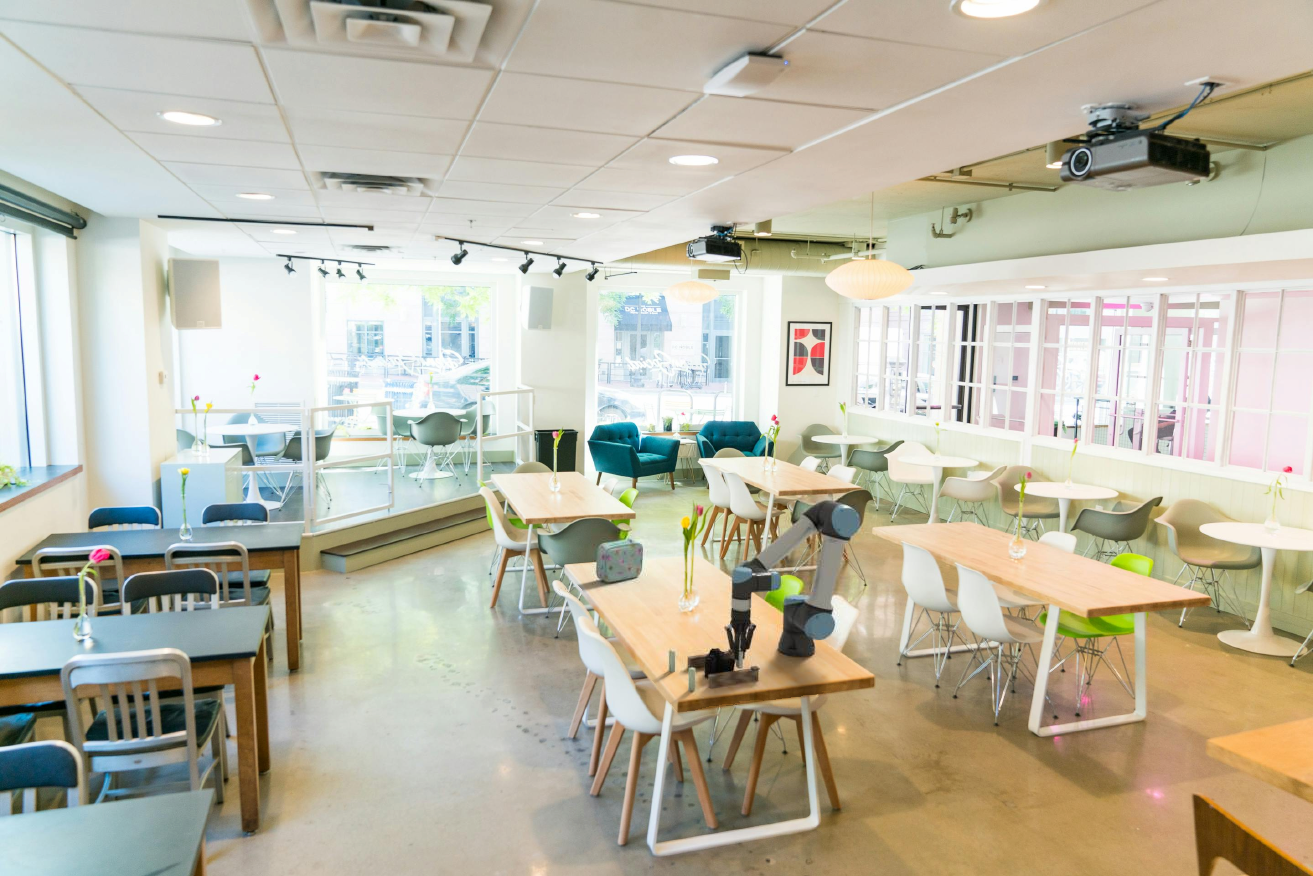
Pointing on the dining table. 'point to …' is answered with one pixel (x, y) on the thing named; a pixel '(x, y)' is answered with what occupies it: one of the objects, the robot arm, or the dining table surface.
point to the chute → (725, 677)
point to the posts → (691, 670)
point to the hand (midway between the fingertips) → (739, 667)
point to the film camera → (717, 663)
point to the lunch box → (619, 560)
